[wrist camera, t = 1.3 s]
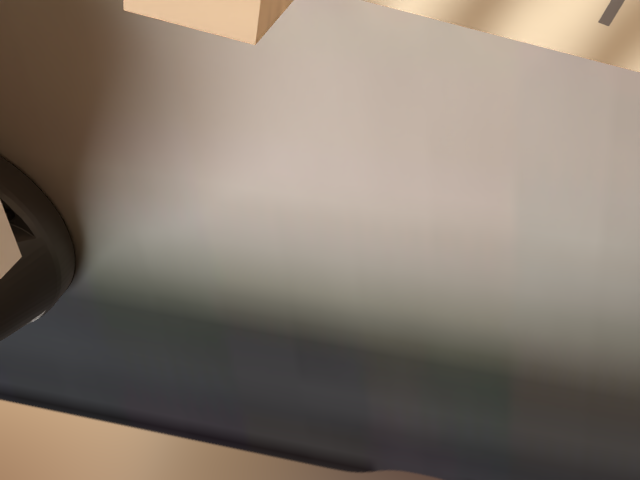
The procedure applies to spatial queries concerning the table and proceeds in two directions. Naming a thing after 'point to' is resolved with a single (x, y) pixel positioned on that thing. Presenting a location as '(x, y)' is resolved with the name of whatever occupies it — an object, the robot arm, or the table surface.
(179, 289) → the table surface
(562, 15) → the board
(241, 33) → the sanding block
